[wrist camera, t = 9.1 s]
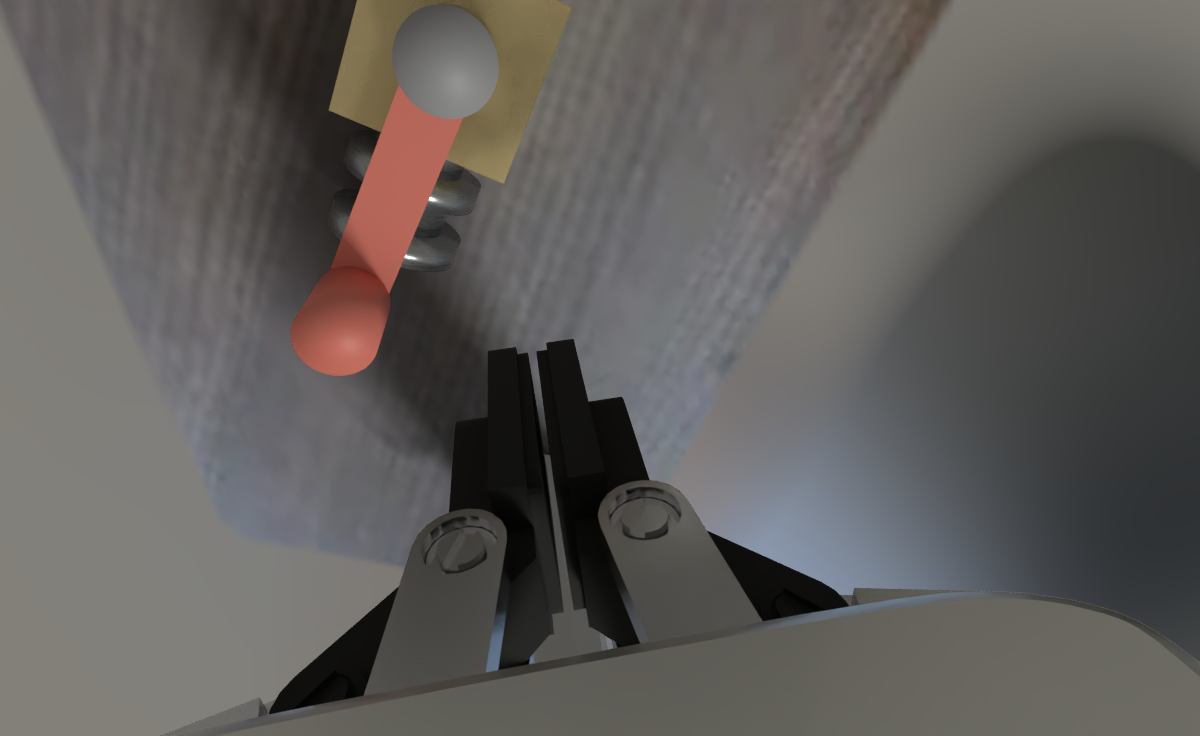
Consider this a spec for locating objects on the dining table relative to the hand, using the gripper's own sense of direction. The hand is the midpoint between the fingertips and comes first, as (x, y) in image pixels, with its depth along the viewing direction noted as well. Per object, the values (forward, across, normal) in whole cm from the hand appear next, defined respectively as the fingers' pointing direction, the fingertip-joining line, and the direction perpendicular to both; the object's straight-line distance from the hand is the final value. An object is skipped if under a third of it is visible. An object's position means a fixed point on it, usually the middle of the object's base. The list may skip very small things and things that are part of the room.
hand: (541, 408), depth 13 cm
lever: (+16, +4, -1) cm, 17 cm away
